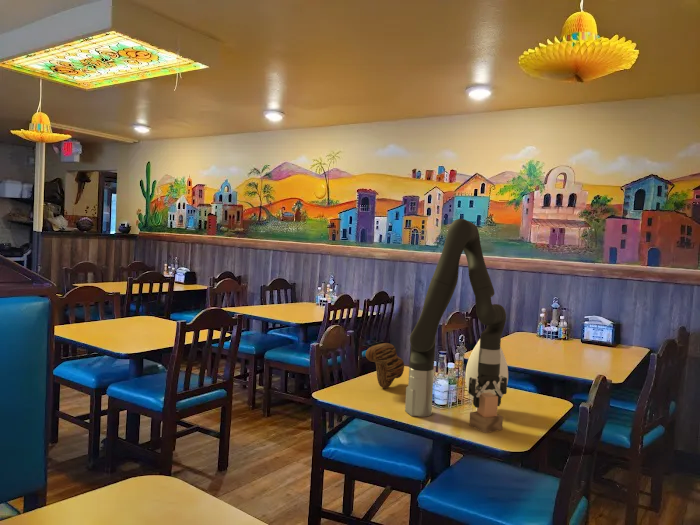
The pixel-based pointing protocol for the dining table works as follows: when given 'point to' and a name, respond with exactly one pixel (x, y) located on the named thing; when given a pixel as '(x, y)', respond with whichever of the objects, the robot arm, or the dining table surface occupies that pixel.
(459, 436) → the dining table surface
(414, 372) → the robot arm
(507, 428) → the dining table surface
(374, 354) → the sculpture
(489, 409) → the light wooden cube
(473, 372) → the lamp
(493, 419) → the walnut block
